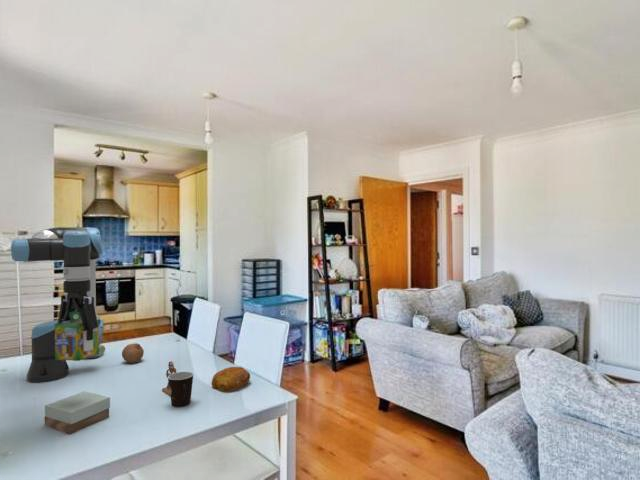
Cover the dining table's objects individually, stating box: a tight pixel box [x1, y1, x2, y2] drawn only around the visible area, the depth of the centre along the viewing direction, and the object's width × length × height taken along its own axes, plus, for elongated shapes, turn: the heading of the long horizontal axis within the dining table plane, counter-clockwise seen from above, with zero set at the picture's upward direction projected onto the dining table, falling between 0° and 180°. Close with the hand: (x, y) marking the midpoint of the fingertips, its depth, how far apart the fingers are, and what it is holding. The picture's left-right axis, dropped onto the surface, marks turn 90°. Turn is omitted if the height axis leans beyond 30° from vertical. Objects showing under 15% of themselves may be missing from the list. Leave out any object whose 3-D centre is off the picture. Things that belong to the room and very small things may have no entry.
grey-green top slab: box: [44, 391, 111, 424], centre depth 130 cm, size 13×13×4 cm
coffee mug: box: [167, 371, 194, 408], centre depth 142 cm, size 12×9×10 cm
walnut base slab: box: [44, 408, 110, 435], centre depth 130 cm, size 13×13×4 cm
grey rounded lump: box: [87, 343, 106, 359], centre depth 202 cm, size 11×8×10 cm
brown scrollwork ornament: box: [161, 360, 177, 397], centre depth 154 cm, size 9×4×12 cm, turn 43°
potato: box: [211, 366, 251, 393], centre depth 161 cm, size 14×16×8 cm
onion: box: [121, 342, 145, 364], centre depth 192 cm, size 10×9×10 cm
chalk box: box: [55, 311, 99, 362], centre depth 130 cm, size 9×9×15 cm
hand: (77, 348), depth 130 cm, fingers closed on chalk box, 10 cm apart
